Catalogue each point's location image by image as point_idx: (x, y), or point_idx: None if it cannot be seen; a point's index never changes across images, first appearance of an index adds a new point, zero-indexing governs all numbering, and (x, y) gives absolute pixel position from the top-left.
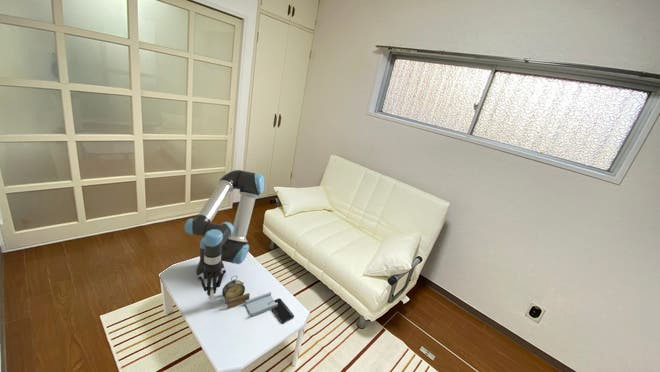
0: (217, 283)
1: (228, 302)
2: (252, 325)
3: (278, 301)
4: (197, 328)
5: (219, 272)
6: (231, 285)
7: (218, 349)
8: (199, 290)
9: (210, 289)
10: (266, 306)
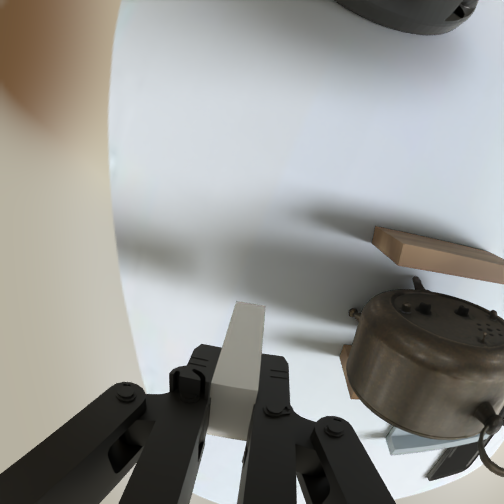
0: (324, 455)
1: (350, 386)
2: None
3: (501, 411)
4: (146, 368)
5: (442, 23)
6: (441, 431)
7: (199, 468)
8: (250, 76)
9: (200, 449)
10: (456, 441)
